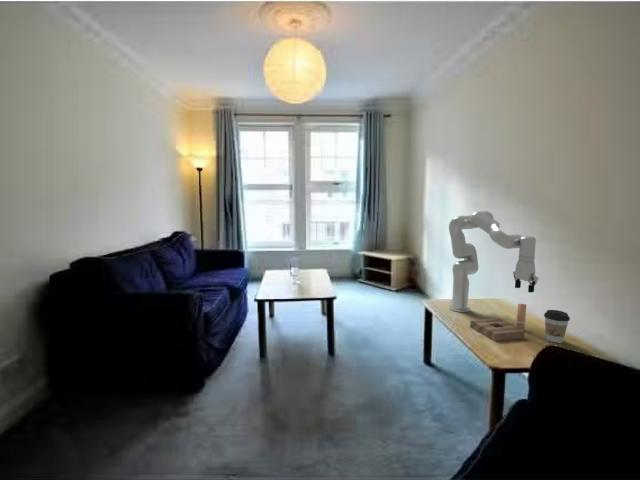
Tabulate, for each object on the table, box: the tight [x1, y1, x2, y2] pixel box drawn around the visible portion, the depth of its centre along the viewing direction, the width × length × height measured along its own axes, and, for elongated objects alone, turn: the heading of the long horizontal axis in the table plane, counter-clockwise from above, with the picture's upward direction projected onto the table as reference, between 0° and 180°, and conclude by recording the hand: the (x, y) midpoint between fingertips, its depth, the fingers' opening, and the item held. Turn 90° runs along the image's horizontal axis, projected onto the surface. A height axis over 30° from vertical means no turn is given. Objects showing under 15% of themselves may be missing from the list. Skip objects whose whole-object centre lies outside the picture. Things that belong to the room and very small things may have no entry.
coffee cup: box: [543, 309, 571, 343], centre depth 195 cm, size 11×11×15 cm
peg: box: [515, 303, 527, 331], centre depth 211 cm, size 4×4×14 cm
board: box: [469, 317, 526, 342], centre depth 206 cm, size 20×18×4 cm
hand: (524, 290), depth 209 cm, fingers open, 9 cm apart
